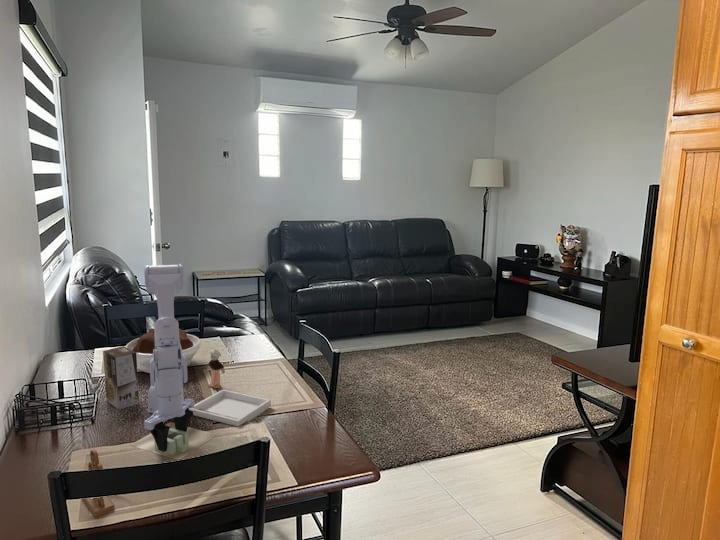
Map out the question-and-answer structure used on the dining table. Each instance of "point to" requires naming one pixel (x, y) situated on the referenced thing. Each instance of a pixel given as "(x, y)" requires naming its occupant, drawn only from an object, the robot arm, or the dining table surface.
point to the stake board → (192, 445)
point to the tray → (231, 407)
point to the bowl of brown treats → (147, 344)
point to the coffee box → (121, 377)
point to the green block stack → (176, 442)
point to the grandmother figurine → (215, 369)
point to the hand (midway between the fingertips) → (171, 444)
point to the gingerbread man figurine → (103, 503)
